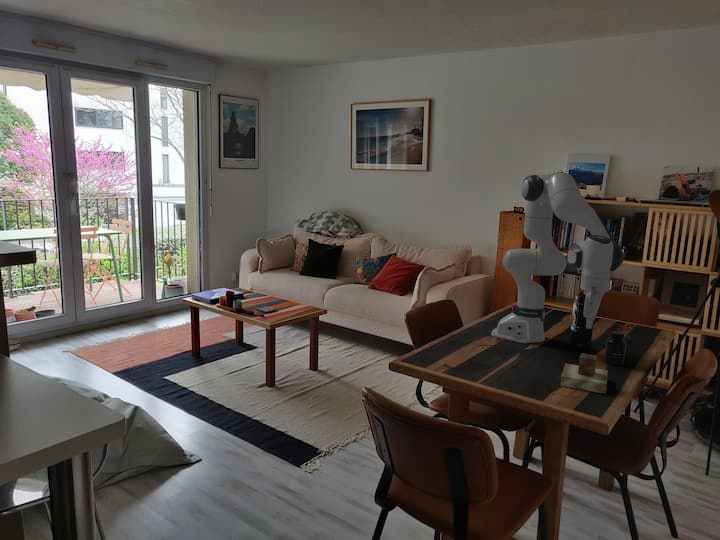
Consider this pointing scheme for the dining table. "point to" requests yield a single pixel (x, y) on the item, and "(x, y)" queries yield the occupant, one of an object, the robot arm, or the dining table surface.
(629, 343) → the dining table surface
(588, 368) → the walnut block
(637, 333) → the dining table surface
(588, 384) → the ash platform
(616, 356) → the supplement bottle
